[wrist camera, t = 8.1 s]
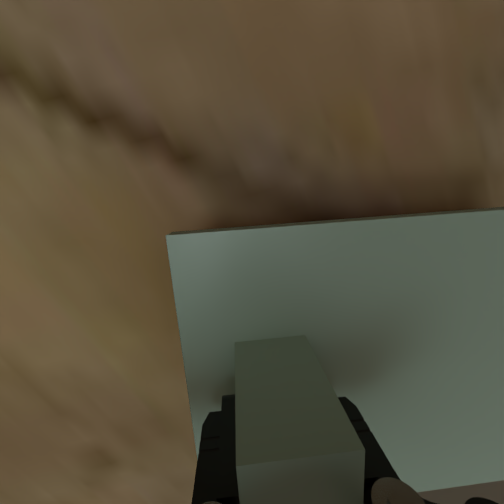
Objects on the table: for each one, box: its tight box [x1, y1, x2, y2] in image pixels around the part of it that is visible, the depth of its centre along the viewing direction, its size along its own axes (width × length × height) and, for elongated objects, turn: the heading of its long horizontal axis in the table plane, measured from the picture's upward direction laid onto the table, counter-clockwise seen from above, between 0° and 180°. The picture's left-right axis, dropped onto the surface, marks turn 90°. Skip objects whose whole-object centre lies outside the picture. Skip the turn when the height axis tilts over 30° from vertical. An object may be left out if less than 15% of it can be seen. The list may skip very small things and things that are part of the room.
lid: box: [166, 207, 504, 504], centre depth 10 cm, size 20×14×8 cm
